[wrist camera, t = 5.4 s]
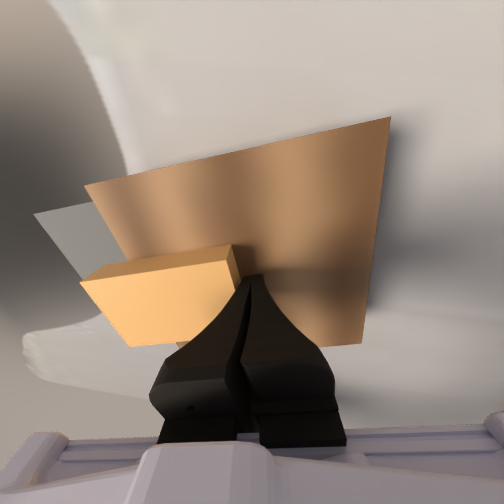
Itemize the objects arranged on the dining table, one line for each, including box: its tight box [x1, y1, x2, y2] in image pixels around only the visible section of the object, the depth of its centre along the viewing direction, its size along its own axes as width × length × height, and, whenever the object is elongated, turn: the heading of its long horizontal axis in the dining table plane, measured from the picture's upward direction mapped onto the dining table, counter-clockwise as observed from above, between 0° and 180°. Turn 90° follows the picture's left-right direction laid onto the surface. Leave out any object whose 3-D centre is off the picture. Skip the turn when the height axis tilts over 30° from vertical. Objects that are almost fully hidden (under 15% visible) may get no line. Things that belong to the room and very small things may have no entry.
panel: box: [85, 117, 391, 349], centre depth 14 cm, size 16×16×4 cm
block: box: [80, 244, 241, 347], centre depth 12 cm, size 9×6×2 cm, turn 101°
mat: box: [34, 201, 128, 280], centre depth 17 cm, size 9×14×1 cm, turn 11°
